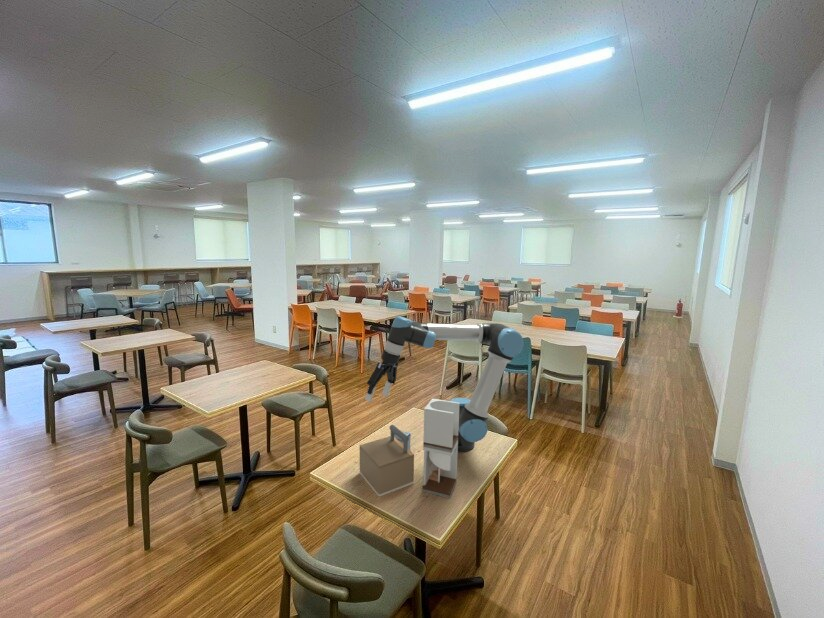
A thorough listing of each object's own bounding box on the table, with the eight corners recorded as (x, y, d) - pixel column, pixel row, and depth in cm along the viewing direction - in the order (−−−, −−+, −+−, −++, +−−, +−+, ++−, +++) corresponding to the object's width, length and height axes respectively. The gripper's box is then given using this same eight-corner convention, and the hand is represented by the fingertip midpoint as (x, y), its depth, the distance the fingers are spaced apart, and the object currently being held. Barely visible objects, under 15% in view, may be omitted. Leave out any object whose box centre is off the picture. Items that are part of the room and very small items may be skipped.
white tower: (422, 491, 144) (424, 408, 138) (430, 476, 154) (432, 398, 148) (450, 498, 140) (453, 413, 135) (456, 482, 150) (459, 402, 144)
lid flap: (379, 468, 138) (379, 449, 137) (359, 446, 153) (359, 429, 152) (414, 456, 147) (414, 438, 146) (392, 437, 162) (392, 420, 160)
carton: (392, 462, 164) (392, 437, 162) (413, 483, 149) (414, 456, 147) (359, 473, 155) (359, 447, 153) (378, 496, 140) (379, 468, 138)
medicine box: (391, 449, 174) (392, 432, 173) (396, 445, 178) (396, 429, 177) (406, 454, 170) (406, 437, 169) (410, 449, 174) (410, 432, 173)
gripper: (398, 348, 165) (384, 390, 167) (369, 349, 143) (352, 398, 145) (412, 354, 162) (397, 397, 164) (384, 356, 140) (367, 407, 142)
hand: (376, 398), depth 154 cm, fingers open, 13 cm apart
